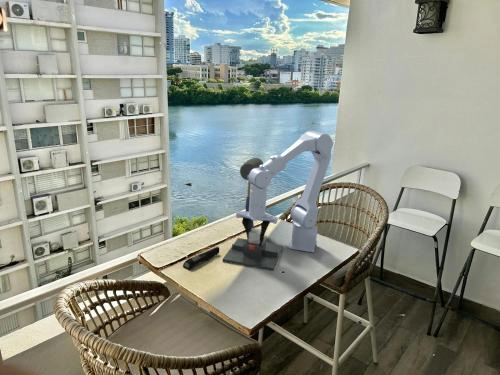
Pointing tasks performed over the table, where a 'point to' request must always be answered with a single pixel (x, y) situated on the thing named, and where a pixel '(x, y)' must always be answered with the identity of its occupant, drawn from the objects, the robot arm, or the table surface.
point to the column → (255, 237)
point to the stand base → (254, 254)
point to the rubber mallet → (245, 172)
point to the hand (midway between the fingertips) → (255, 238)
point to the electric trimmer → (200, 258)
